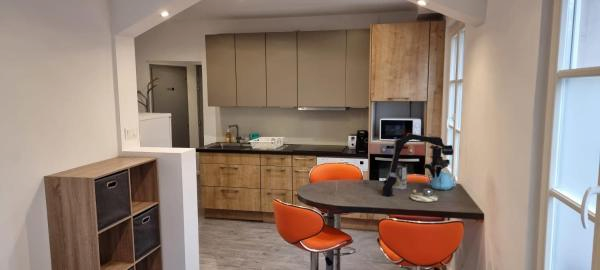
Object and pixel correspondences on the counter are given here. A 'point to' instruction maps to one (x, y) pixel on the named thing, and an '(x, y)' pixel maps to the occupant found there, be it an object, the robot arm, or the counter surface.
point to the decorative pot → (441, 181)
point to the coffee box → (401, 178)
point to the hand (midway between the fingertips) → (435, 177)
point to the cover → (428, 192)
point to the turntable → (422, 197)
